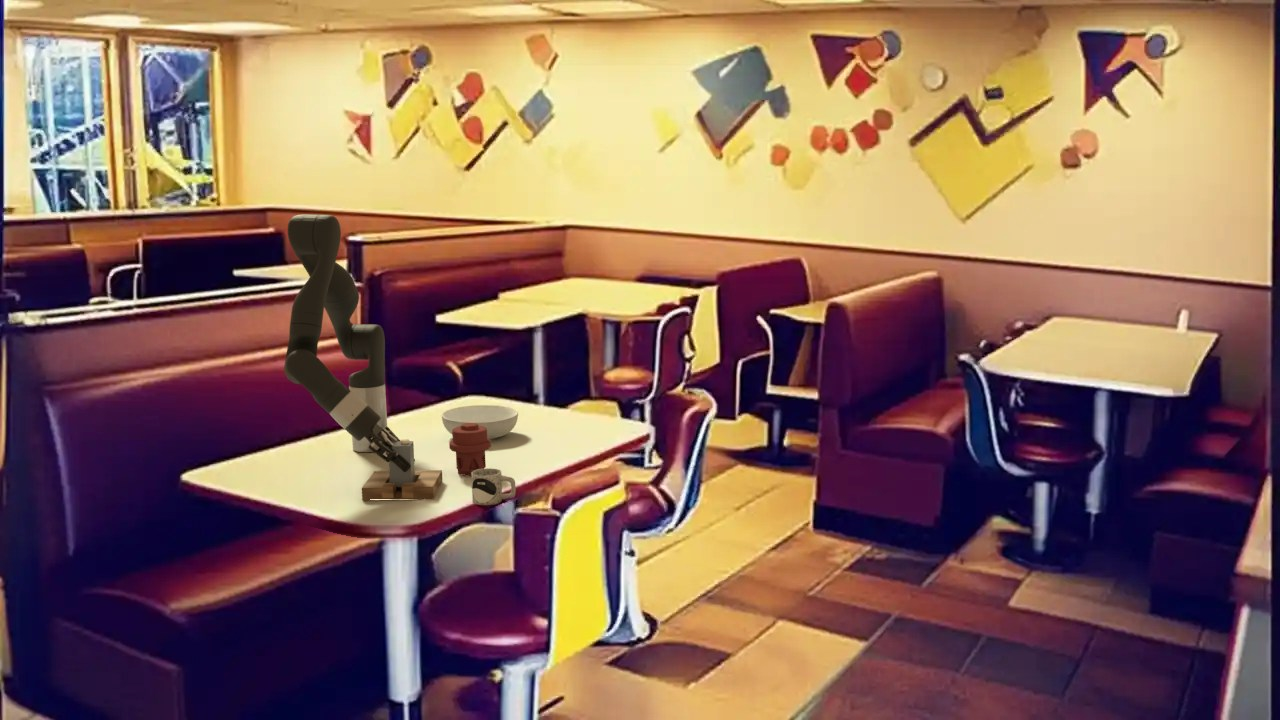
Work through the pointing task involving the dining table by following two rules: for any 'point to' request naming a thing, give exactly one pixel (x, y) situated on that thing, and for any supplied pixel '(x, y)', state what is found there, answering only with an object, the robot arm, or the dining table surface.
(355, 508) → the dining table surface
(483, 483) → the mug
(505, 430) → the serving bowl
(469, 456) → the mechanical component
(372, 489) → the plate
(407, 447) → the block
